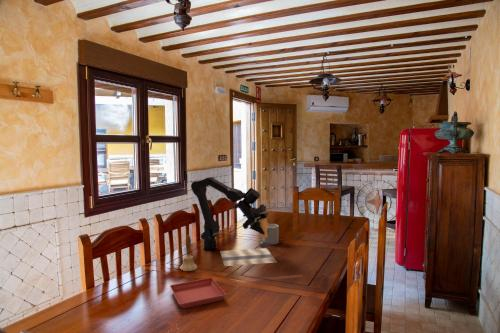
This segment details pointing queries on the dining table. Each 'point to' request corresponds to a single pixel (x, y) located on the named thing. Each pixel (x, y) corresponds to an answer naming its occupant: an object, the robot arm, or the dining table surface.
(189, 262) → the hand bell
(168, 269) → the dining table surface
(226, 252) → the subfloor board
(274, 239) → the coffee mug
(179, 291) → the plant saucer
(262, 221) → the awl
